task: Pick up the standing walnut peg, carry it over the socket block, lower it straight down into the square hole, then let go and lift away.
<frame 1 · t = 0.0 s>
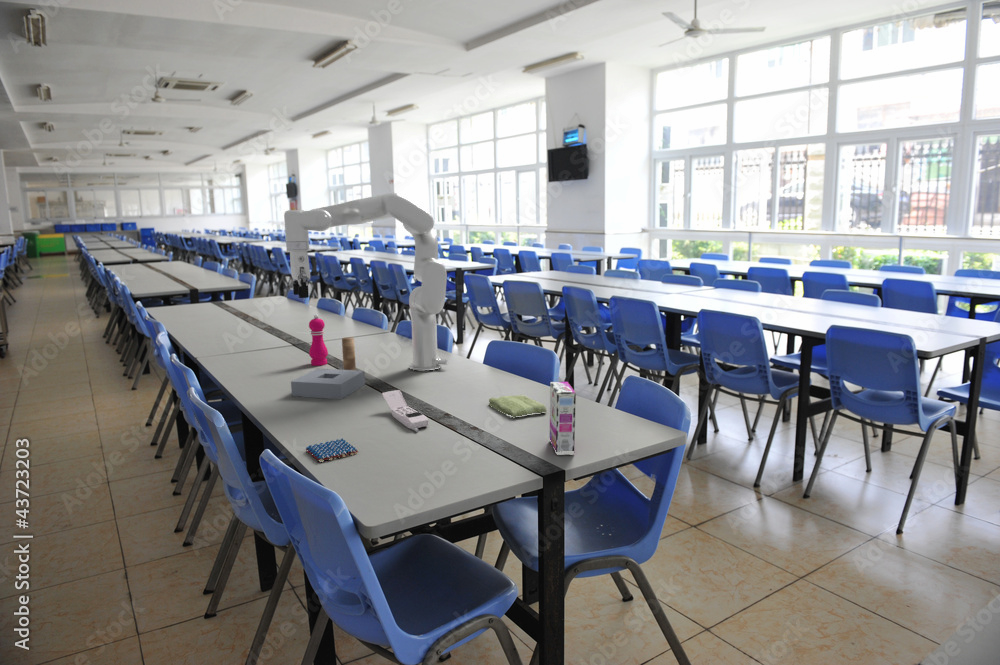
hand: (301, 296, 228), 31 cm above the table, tool pointing down, fingers open, 9 cm apart
mobile phone: (406, 420, 193), on the table
peg: (350, 375, 244), on the table
socket block: (329, 390, 224), on the table
washcloth: (516, 411, 202), on the table
woven mat: (332, 455, 168), on the table
pepper mill: (319, 364, 262), on the table
candy bar box: (561, 448, 169), on the table
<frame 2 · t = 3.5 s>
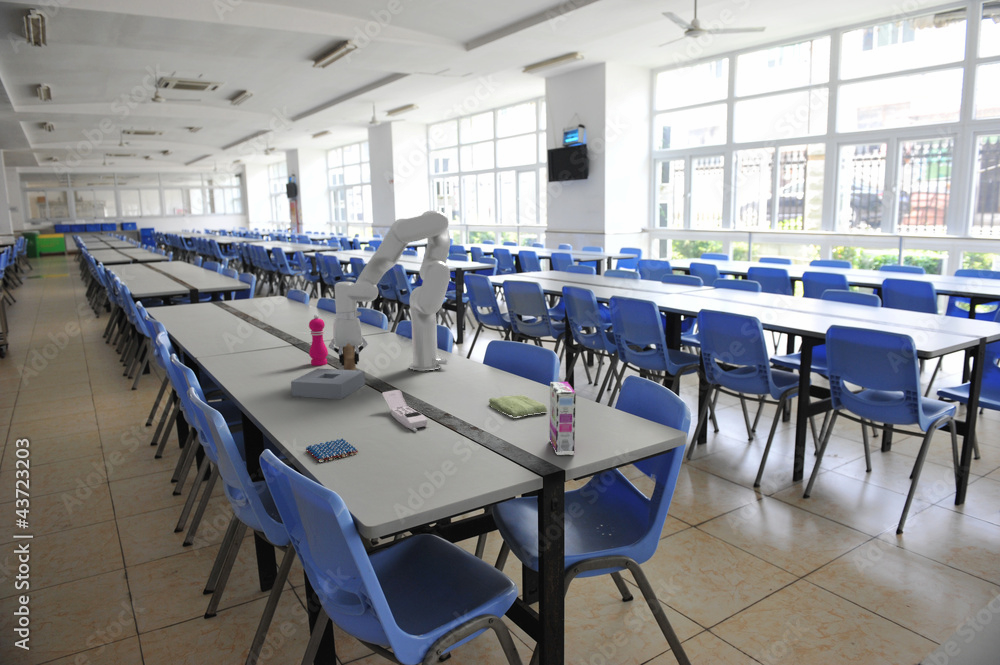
hand: (349, 363, 243), 4 cm above the table, tool pointing down, fingers closed on peg, 4 cm apart
peg: (349, 375, 244), on the table, touching gripper
everything else where it was.
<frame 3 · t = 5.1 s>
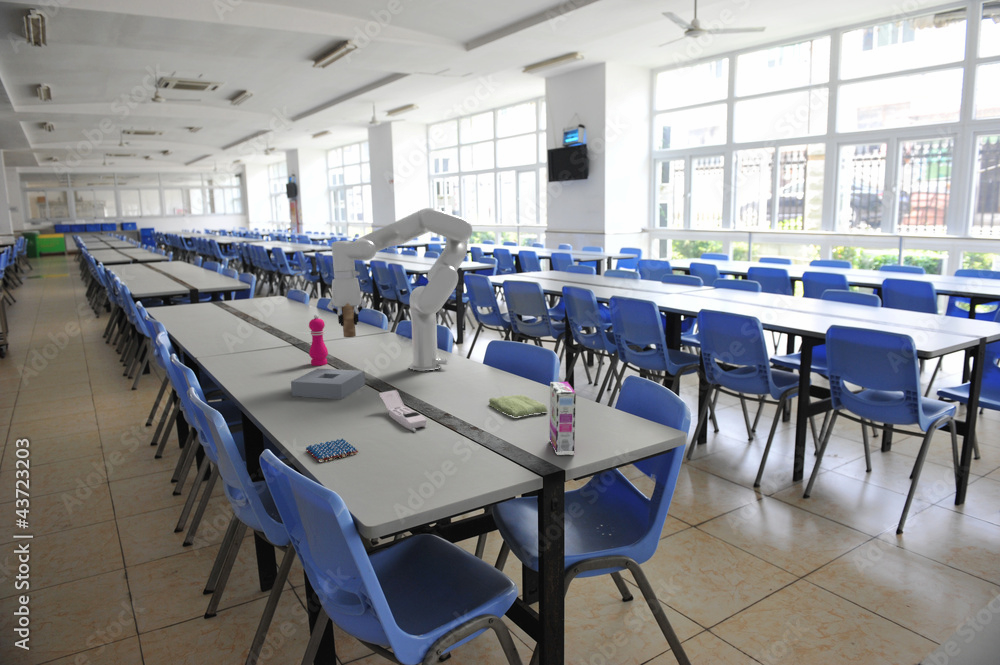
hand: (348, 324, 241), 19 cm above the table, tool pointing down, fingers closed on peg, 4 cm apart
peg: (349, 336, 241), point 15 cm above the table, touching gripper
everything else where it was.
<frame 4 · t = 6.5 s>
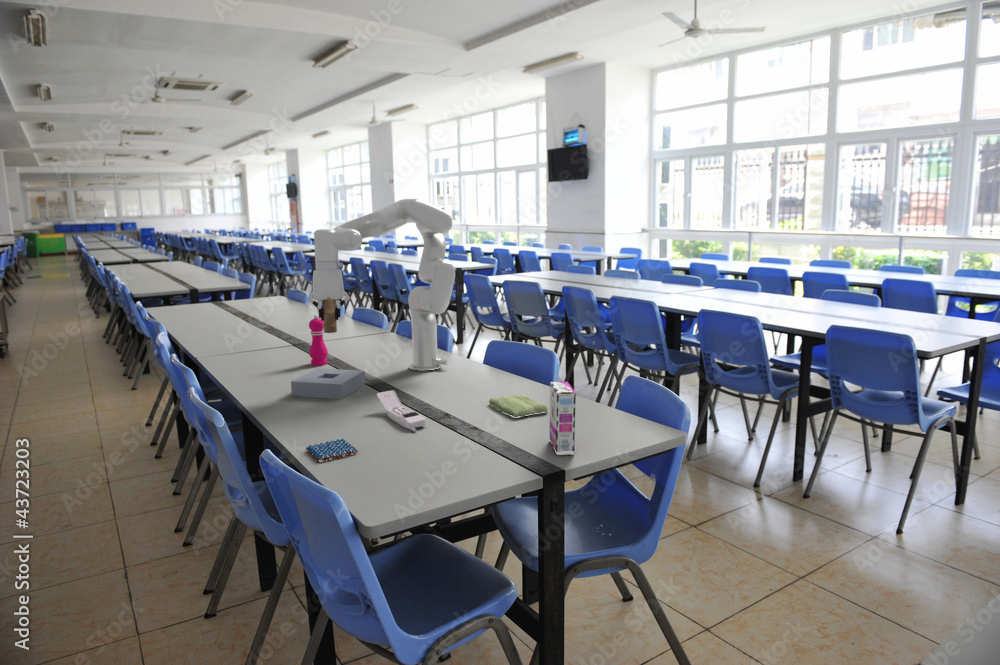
hand: (329, 319, 224), 24 cm above the table, tool pointing down, fingers closed on peg, 4 cm apart
peg: (330, 331, 225), point 19 cm above the table, touching gripper
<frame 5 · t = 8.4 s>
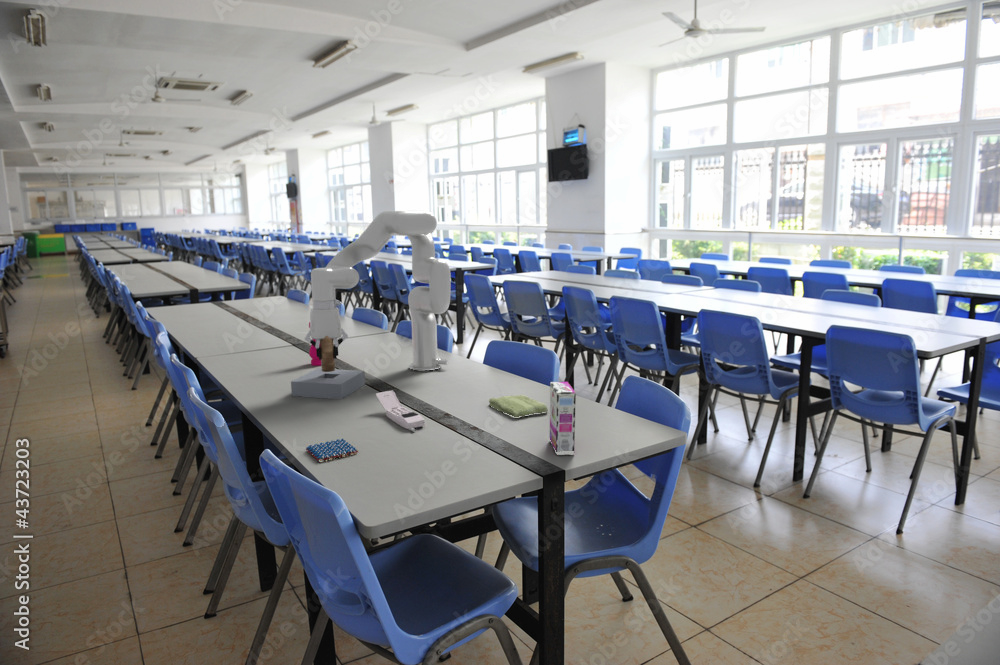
hand: (327, 357, 222), 11 cm above the table, tool pointing down, fingers closed on peg, 4 cm apart
peg: (328, 370, 223), point 7 cm above the table, touching gripper
when the fingers open (7 cm above the table, at t = 9.7 s): peg drops 2 cm, on the table.
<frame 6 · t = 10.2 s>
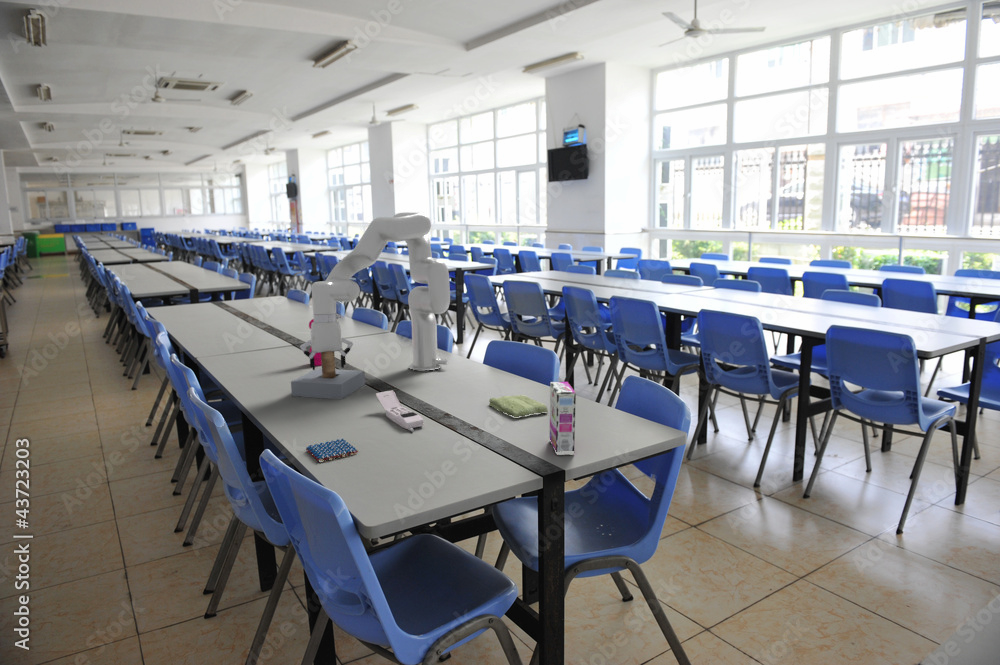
hand: (328, 368, 223), 8 cm above the table, tool pointing down, fingers open, 9 cm apart
peg: (329, 390, 225), on the table
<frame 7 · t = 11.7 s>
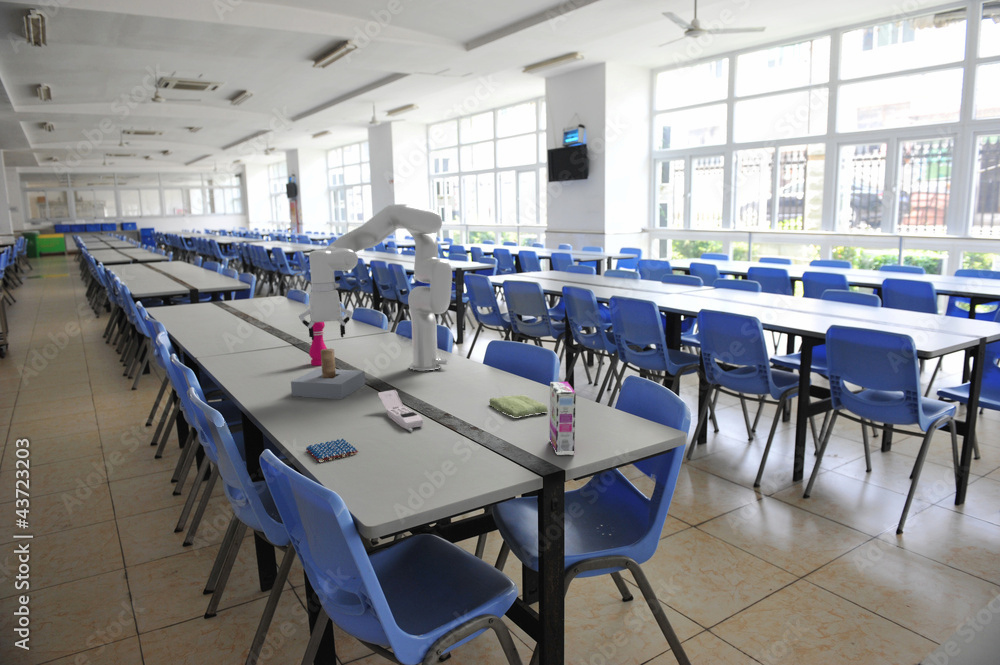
hand: (327, 337, 221), 18 cm above the table, tool pointing down, fingers open, 9 cm apart
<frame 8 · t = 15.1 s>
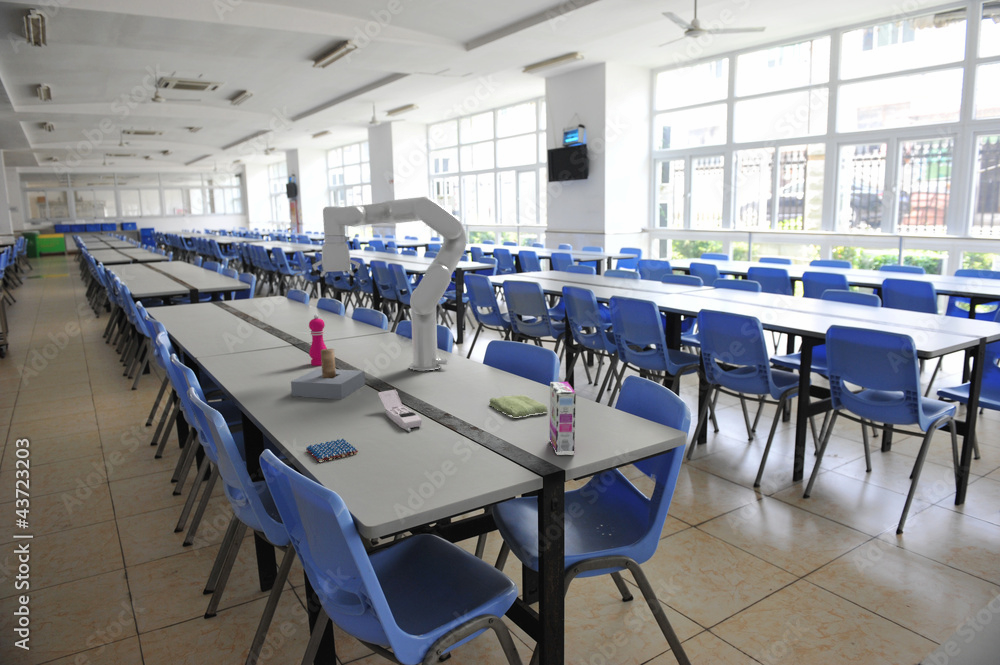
hand: (337, 286, 245), 32 cm above the table, tool pointing down, fingers open, 9 cm apart
at the end: peg 0.1 cm off-centre on the socket block, point 0.0 cm above the socket block's base; peg tilted 0°; the gripper is holding nothing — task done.
